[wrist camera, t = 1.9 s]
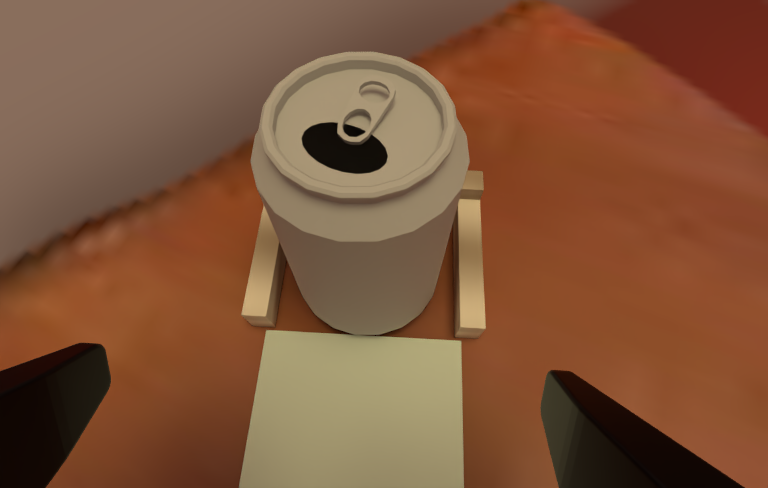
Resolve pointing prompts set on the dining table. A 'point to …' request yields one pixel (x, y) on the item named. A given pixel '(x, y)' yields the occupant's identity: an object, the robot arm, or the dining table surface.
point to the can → (361, 185)
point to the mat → (356, 413)
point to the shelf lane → (466, 267)
